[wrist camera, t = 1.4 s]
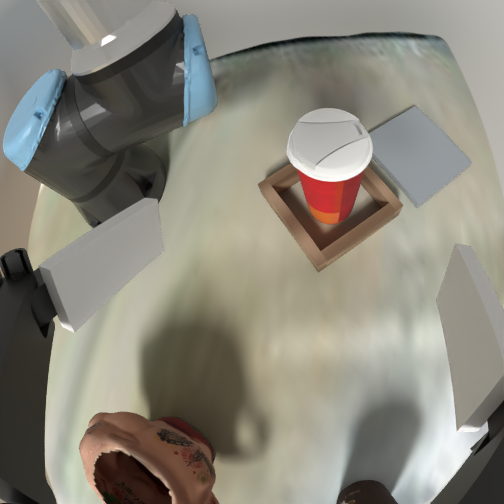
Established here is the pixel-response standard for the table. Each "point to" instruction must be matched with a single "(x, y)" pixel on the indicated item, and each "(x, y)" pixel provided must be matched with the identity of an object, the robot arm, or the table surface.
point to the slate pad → (417, 155)
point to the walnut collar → (347, 241)
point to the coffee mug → (366, 494)
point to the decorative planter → (147, 460)
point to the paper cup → (330, 161)
